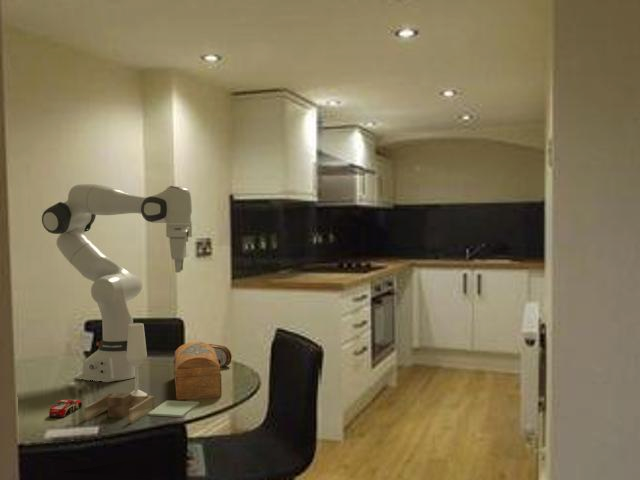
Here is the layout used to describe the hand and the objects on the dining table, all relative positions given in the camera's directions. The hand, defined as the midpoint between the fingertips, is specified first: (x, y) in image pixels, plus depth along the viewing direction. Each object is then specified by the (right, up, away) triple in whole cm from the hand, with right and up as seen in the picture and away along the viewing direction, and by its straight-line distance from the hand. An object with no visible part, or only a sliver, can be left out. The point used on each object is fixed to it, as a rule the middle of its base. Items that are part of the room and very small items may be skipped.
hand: (179, 271), depth 220 cm
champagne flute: (-12, -42, -10) cm, 44 cm away
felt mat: (+4, -42, -26) cm, 49 cm away
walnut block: (-11, -42, -31) cm, 53 cm away
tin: (+7, -41, +34) cm, 54 cm away
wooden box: (+6, -42, +1) cm, 42 cm away
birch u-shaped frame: (-11, -42, -31) cm, 53 cm away
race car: (-29, -42, -28) cm, 58 cm away
